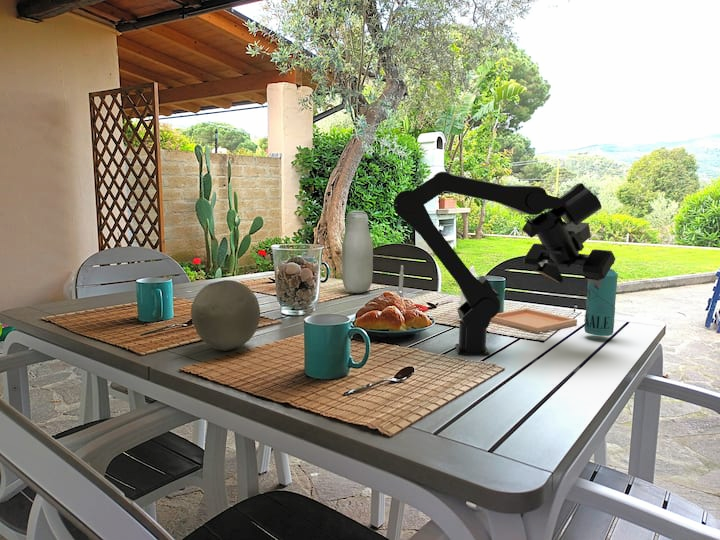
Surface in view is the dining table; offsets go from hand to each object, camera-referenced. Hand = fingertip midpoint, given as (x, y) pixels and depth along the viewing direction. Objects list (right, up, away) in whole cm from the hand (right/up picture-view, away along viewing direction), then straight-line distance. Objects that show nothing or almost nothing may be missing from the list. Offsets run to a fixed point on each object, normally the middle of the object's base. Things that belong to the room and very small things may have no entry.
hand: (579, 284), depth 117 cm
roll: (-16, -7, +44) cm, 47 cm away
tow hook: (-34, -9, +36) cm, 50 cm away
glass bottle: (-50, -5, +61) cm, 79 cm away
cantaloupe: (-77, -14, -6) cm, 79 cm away
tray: (-4, -11, +20) cm, 23 cm away
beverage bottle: (+7, -13, +6) cm, 16 cm away
